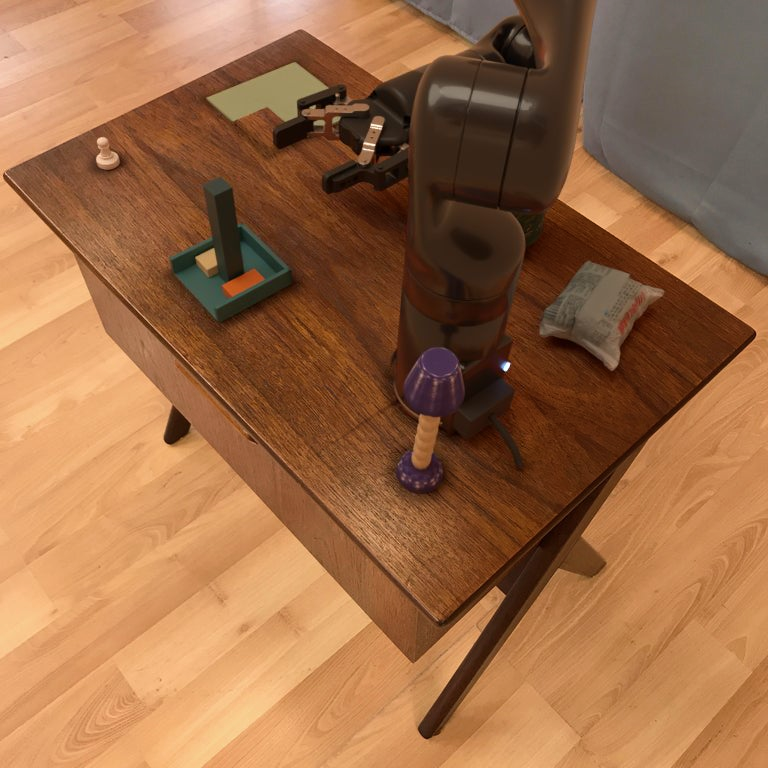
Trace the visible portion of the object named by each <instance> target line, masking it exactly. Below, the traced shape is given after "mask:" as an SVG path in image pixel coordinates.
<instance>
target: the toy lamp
mask: <svg viewBox="0 0 768 768" xmlns="http://www.w3.org/2000/svg"><path fill="white" fill-rule="evenodd" d="M403 390H404V396H405V399H406V401H407V403H408V404H409V406H411V408H412V409H413V410H415V411H416V412H418V413H419V414H420V416H419V421H418V423H417V427H416V434H415V437H414V443H413V449H410V450H408V451H406V452H405V453H404V454H402V455H401V457H400V458H399V459H398V461H397V464H396V465H395V466H396V467H395V476H396V479H397V480H398V482H399V484H400V485H401V486H402V487H403V488H404V489H406V490H408V491H409V492H412V493H415V494H416V493H417V494H426V493H430V492H432V491H434V490H436V489H437V488H438V487H439V486H440V485H441V483H442V482H443V479H444V466H443V464H442V461H441V459H440V458H439V456H438V455H437V454H436V453H434V449H435V448H434V447H435V445H436V442H437V436H438V433H439V427H438V426H439V423H440V417H443V416H447V415H450V414H451V413H453V412H455V411H456V410H457V409H458V408H459V407H460V406H461V404H462V402H463V400H464V396H465V387H464V381H463V376H462V371H461V366H460V362H459V360H458V358H457V356H456V355H455V354H454V353H453V352H452V351H450V350H448V349H445V348H441V347H434V348H430V349H428V350H426V351H425V352H424V353H422V355H421V356H420V357H419V358H418V360H417V361H416V363H415V364H414V366H413V367H412V369H411V371H410V372H409V374H408V376H407V377H406V380H405V382H404V388H403Z"/></svg>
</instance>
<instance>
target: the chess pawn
mask: <svg viewBox="0 0 768 768" xmlns="http://www.w3.org/2000/svg"><path fill="white" fill-rule="evenodd" d="M96 144H97V148H98V149H99V150H100V152H99V154H97V155H96V157H95V161H96V165H97V167H98V168H99V169H102V170H105V171H111V170H113V169H115V168H117V167H118V166H119V165H120V163H121V160H120V157H119V155H118V153H116V152H115V151H112V150H111V149H110V148H109V147H110V143H109V139H108V138H107V137H104V136H101V137H99V138H97V140H96Z"/></svg>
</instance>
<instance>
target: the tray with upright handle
mask: <svg viewBox="0 0 768 768" xmlns="http://www.w3.org/2000/svg"><path fill="white" fill-rule="evenodd" d="M202 187H203V193H204V199H205V204H206V205H205V206H206V210H207V216H208V221H209V227H210V232H211V233H210V234H211V237H209V238H207V239H205V240H202V241H200V242H198V243H196V244H194V245H192V246H190V247H188V248H186V249H183V250H182V251H180V252H177V253H176V254H174V255H172V256H170V257H169V258H168V260H169V264H170V268H171V272H172V273H173V274H174V276H176V278H177V279H178V280H179V281H180V282H181V283H182V284H183V285H184V286H185V288H186V289H187V290H188V291H189V292H190V293H191V294H192V295H193V296H194V298H195V299H196V300H197V301H198V302H199V303H200V304H201V305H202V307H204V308H205V310H206V311H207V312H208V313H209V314H210V315H211V316H212V317H213V318H214V319H215V321H216V322H217V323H218V324H220V323H222V322H224V321H225V320H227V319H229V318H231V317H233V316H235V315H237V314H239V313H240V312H242V311H244V310H246V309H248V308H249V307H251V306H253V305H256V304H257V303H259V302H261V301H263V300H264V299H266V298H268V297H270V296H272V295H274V294H275V293H278V292H279V291H281V290H283V289H285V288H286V287H288V286H290V285H292V284H293V273H292V268H290V266H288V265H287V264H286V262H284V261H283V259H282V258H280V257H279V256H278V255H277V254H276V253H275V252H274V251H273V250H272V249H271V248H270V247H269V246H268V245H267V244H265V242H263V240H262V239H261V238H259V236H258V235H256V234H255V232H253V231H252V230H251V229H250V228H249V227H248V226H247V225H246V224H245V223H244V222H243V221H242V222H239V223H238V218H237V210H236V204H235V197H234V190H233V186H231V184H230V183H228V182H227V181H226V180H225V179H224V178H223V177H222V176H219V177H216V178H214V179H212V180H210V181H208V182H206V183H203V184H202ZM213 248H214V250H215V256H216V261H217V267H218V272H219V273H217V274H215V275H213V276H211V277H208V276H207V275H206V274H205V273H204V272H203V271H202V270H201V269H200V268H199V267H198V266H197V264H196V259H195V257H196V256H198V255H200V254H202V253H205V252H207V251H209V250H211V249H213ZM252 269H255V270H256V271H257V272H258V273H259V274H260V275H261V276H262V277H263V278H264V279H265V280H263V281H261V282H259V283H257V284H255V285H254V286H252V287H250V288H248V289H246V290H244V291H242V292H240V293H238V294H237V295H235V296H233V297H231V298H229V299H228V298H227V297H226V295H225V294H224V293H223V289H222V285H224V284H225V283H227V282H229V281H231V280H233V279H235V278H237V277H239V276H241V275H243V274H245V273H247V272H249V271H250V270H252Z"/></svg>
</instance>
